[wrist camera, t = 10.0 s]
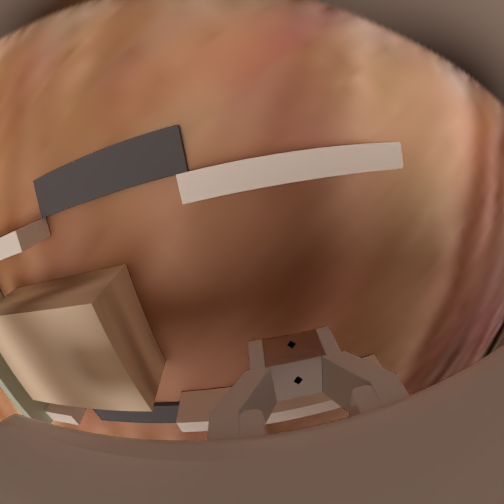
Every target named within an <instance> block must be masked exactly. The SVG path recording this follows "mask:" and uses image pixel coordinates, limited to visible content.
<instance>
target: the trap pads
mask: <svg viewBox="0 0 504 504" xmlns="http://www.w3.org/2000/svg"><path fill="white" fill-rule="evenodd" d="M183 172H188V166H187V161H186V156H185V152H184V147H183V142H182V137H181V132H180V127H179V125H174V126H171V127H167V128H164V129H160V130H157V131H154V132H150V133H147V134H144V135H141V136H138V137H135V138H132V139H129V140H126V141H123V142H120V143H118V144H115V145H112V146H109V147H107V148H104V149H102V150H99V151H97V152H94V153H92V154H89V155H87V156H85V157H82V158H80V159H78V160H75V161H73V162H71V163H69V164H66V165H64V166H62V167H60V168H58V169H56V170H54V171H52V172H50V173H48V174H46V175H44V176H42V177H40V178H38V179H36V180H34V186H35V191H36V195H37V200H38V204H39V208H40V212H41V216H42V218H45V217H47V216H50V215H52V214H55V213H57V212H60V211H62V210H65V209H68V208H70V207H73V206H76V205H78V204H81V203H84V202H87V201H89V200H92V199H95V198H98V197H101V196H104V195H107V194H110V193H113V192H116V191H119V190H123V189H126V188H129V187H132V186H136V185H139V184H143V183H146V182H150V181H153V180H157V179H160V178H164V177H168V176H172V175H176V174H179V173H183ZM179 403H180V402H170V403H154V406H153V410H152V411H116V410H101V409H93V410H94V411H95V413H96V414H97V415H98V416H99V417H100V419H101V420H107V421H119V422H138V423H176V420H177V414H178V408H179Z"/></svg>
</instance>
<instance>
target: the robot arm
mask: <svg viewBox="0 0 504 504" xmlns="http://www.w3.org/2000/svg"><path fill="white" fill-rule="evenodd" d="M248 356H249V370H248V371H245V372H244V373H243V374H242V376H241V377H240V378H239V379H238V380H237V382H236V383H235V384H234V385H233V386H232V387H231V389H230V390H229V391H228V392H227V393H226V395H225V396H224V397H223V398H222V399H221V400H220V401H219V403H218V404H217V405H216V406H215V407H214V408H213V409H212V411H211V412H210V413H209V424H208V435H207V440H193V441H175V440H149V439H136V438H126V437H117V436H109V435H102V434H96V433H90V432H85V431H80V430H75V429H70V428H66V427H61V426H57V425H53V424H49V423H46V422H42V421H39V420H35V419H32V418H29V417H26V416H23V415H19V414H13V415H11V416H9V417H7V418H6V419H4V420H3V421H1V422H0V504H504V345H502V346H501V347H499V348H498V349H497V350H495V351H493V352H492V353H490V354H489V355H487V356H486V357H484V358H482V359H481V360H479V361H478V362H476V363H474V364H472V365H471V366H469V367H467V368H465V369H464V370H462V371H460V372H458V373H456V374H455V375H453V376H451V377H449V378H447V379H445V380H443V381H441V382H439V383H437V384H435V385H433V386H430V387H428V388H426V389H424V390H422V391H419V392H417V393H415V394H412V395H409V393H408V392H407V390H406V389H405V387H404V385H403V384H402V382H401V381H400V379H399V377H398V376H397V374H396V373H393V372H391V371H389V370H387V369H384V368H382V367H380V366H378V365H375V364H373V363H371V362H369V361H366V360H364V359H362V358H360V357H358V356H356V355H353V354H351V353H349V352H347V351H342V352H341V350H340V348H339V346H338V344H337V342H336V340H335V338H334V336H333V334H332V332H331V330H330V328H329V327H328V326H324V327H320V328H316V329H314V330H310V331H305V332H300V333H296V334H291V335H284V336H278V337H272V338H265V339H259V340H253V341H248ZM320 392H323V393H324V394H325V395H326V396H328V397H329V398H330V399H332V400H333V401H334V402H336V403H337V404H338V405H340V406H341V407H342V408H344V409H345V410H346V411H348V412H349V417H347V418H344V419H340V420H337V421H333V422H329V423H325V424H321V425H316V426H312V427H307V428H302V429H297V430H292V431H287V432H281V433H275V434H268V431H267V428H266V422H267V420H268V419H269V417H270V415H271V413H272V411H273V409H274V407H275V406H276V404H277V401H281V400H286V399H291V398H295V397H300V396H305V395H310V394H315V393H320Z"/></svg>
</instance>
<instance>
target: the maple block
mask: <svg viewBox="0 0 504 504" xmlns="http://www.w3.org/2000/svg"><path fill="white" fill-rule="evenodd" d="M0 353H1V355H2V356H3V358H4V359H5V361H6V363H7V364H8V366H9V367H10V369H11V370H12V372H13V373H14V375H15V376H16V378H17V379H18V380H19V382H20V383H21V385H22V386H23V387H24V389H25V390H26V391H27V393H28V394H29V395H30V397H31V398H32V399H33V400H37V401H42V402H47V403H53V404H59V405H65V406H73V407H81V408H90V409H101V410H116V411H152V410H153V406H154V402H155V398H156V394H157V391H158V387H159V383H160V379H161V376H162V372H163V369H164V365H165V362H166V361H165V359H164V357H163V355H162V353H161V351H160V349H159V346H158V344H157V342H156V340H155V338H154V335H153V333H152V331H151V329H150V326H149V324H148V321H147V319H146V317H145V314H144V312H143V309H142V307H141V304H140V302H139V299H138V297H137V294H136V291H135V289H134V286H133V283H132V281H131V278H130V275H129V272H128V269H127V266H126V264H125V265H120V266H115V267H111V268H106V269H101V270H97V271H92V272H87V273H83V274H78V275H74V276H69V277H65V278H60V279H56V280H51V281H47V282H42V283H38V284H33V285H29V286H25V287H20V288H16V289H15V290H13V291H12V292H11V293H10V294H8V295H7V296H6V297H5V298H4V299H2V300H1V301H0Z"/></svg>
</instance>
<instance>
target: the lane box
mask: <svg viewBox="0 0 504 504" xmlns="http://www.w3.org/2000/svg"><path fill="white" fill-rule="evenodd" d="M401 168H403V159H402V150H401V143H400V142H380V143H363V144H351V145H340V146H330V147H321V148H313V149H305V150H297V151H290V152H284V153H277V154H271V155H265V156H259V157H254V158H248V159H243V160H238V161H232V162H228V163H223V164H218V165H213V166H209V167H204V168H200V169H196V170H192V171H188V172H184V173H180V174H177V175H176V178H177V183H178V187H179V191H180V196H181V200H182V204H186V203H191V202H195V201H199V200H204V199H209V198H213V197H218V196H223V195H227V194H232V193H237V192H242V191H247V190H253V189H258V188H263V187H269V186H275V185H280V184H286V183H292V182H298V181H305V180H311V179H318V178H325V177H332V176H339V175H347V174H354V173H363V172H371V171H381V170H390V169H401ZM49 236H51V234H50V231H49V228H48V224H47V221H46V217H45V218H42V219H40V220H38V221H35V222H33V223H31V224H28V225H26V226H24V227H22V228H19V229H17V230H15V231H13V232H11V233H9V234H6V235H4V236H2V237H0V260H2V259H4V258H7V257H10V256H12V255H15V254H18V253H20V252H23V251H24V250H26V249H28V248H29V247H31V246H33V245H35V244H36V243H38V242H40V241H42V240H44V239H45V238H47V237H49ZM2 299H4V298H3V295H2V293H1V291H0V301H1V300H2ZM362 359H364V360H366V361H369V362H371V363H373V364H375V365H378V366H380V367H382V366H381V364H380V363H379V361H378V360H377V358H376V356H375V355H374V354H373V355H370V356H367V357H364V358H362ZM0 387H1V388H2V389H3V391H4V392H5V393H6V395H7V396H8V397H9V399H10V400H11V401H12V402H13V404H14V405H15V406H16V407H17V409H18V410H19V411H20V412H21V413H22V414H23V416H26V417H29V418H32V419H35V420H39V421H42V422H46V423H49V424H50V423H51V421H52V420H55V421H60V422H65V423H70V424H76V425H79V424H80V422H81V420H82V417H83V415H84V413H85V411H86V408H81V407H73V406H65V405H59V404H53V403H47V402H42V401H37V400H33V399H32V398H31V397H30V395H29V394H28V393H27V391H26V390H25V389H24V387H23V386H22V385H21V383H20V382H19V380H18V379H17V378H16V376H15V375H14V373H13V372H12V370H11V369H10V367H9V366H8V364H7V363H6V361H5V359H4V358H3V356H2V355H1V353H0ZM230 389H231V387H226V388H218V389H209V390H198V391H187V392H181V397H180V403H179V408H178V414H177V420H176V424H177V425H178V426H179V428H180V429H181V431H182V432H196V431H208V424H209V413H210V412H211V411H212V409H213V408H214V407H215V406H216V405H217V404H218V403H219V401H220V400H221V399H222V398H223V397H224V396H225V395H226V393H227V392H228V391H229V390H230ZM337 408H341V406H340V405H338V404H337V403H336V402H334V401H333V400H332V399H330V398H329V397H328V396H326V395H325V394H324V393H323V392H320V393H315V394H310V395H305V396H300V397H295V398H291V399H286V400H281V401H277V404H276V406H275V407H274V409H273V411H272V413H271V415H270V417H269V419H268V420H267V422H266V424H271V423H276V422H282V421H287V420H292V419H297V418H302V417H306V416H310V415H315V414H319V413H323V412H326V411H330V410H334V409H337Z"/></svg>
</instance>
